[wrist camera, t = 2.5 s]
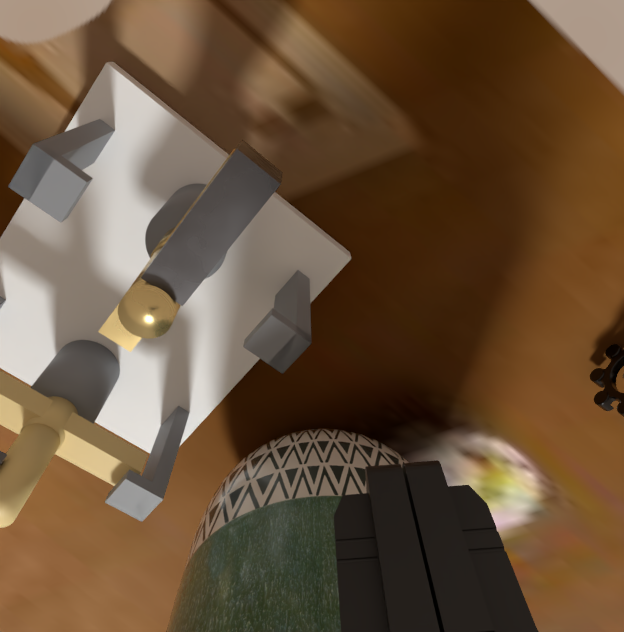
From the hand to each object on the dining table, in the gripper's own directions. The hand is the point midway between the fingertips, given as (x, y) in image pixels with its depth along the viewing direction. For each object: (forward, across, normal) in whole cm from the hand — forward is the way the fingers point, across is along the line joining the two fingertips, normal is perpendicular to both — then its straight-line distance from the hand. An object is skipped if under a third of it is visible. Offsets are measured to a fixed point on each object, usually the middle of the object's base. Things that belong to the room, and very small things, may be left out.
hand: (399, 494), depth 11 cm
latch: (+19, +8, 0) cm, 21 cm away
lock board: (+26, +13, +6) cm, 30 cm away
